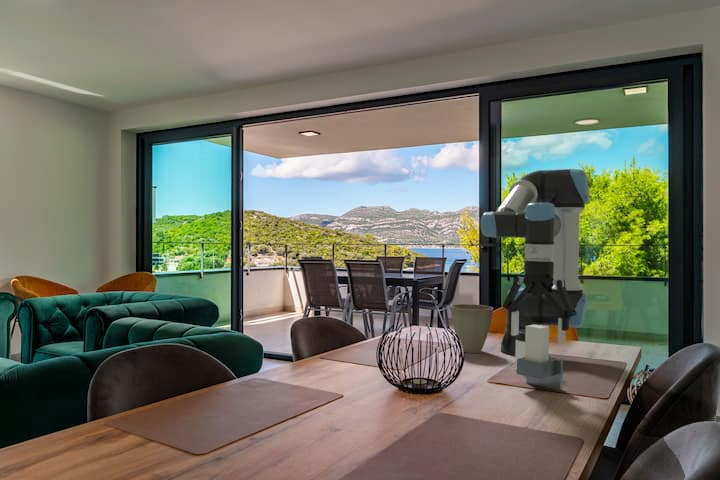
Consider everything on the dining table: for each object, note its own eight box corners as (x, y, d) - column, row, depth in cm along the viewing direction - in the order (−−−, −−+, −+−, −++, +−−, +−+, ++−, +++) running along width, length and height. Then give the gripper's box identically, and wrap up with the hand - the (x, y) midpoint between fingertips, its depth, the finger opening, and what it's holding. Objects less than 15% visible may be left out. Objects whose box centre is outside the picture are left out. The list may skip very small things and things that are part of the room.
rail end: (532, 367, 151) (533, 324, 151) (548, 370, 148) (549, 326, 148) (524, 370, 148) (525, 326, 148) (540, 373, 145) (541, 328, 145)
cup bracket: (528, 382, 155) (529, 353, 155) (562, 389, 148) (563, 360, 148) (512, 387, 149) (512, 358, 149) (546, 395, 142) (547, 365, 142)
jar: (549, 371, 168) (550, 332, 168) (534, 375, 163) (534, 335, 163) (524, 365, 175) (524, 328, 175) (508, 369, 170) (509, 330, 170)
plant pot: (447, 353, 191) (448, 307, 191) (452, 345, 205) (453, 303, 205) (491, 357, 187) (492, 310, 187) (493, 348, 201) (494, 305, 201)
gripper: (491, 258, 154) (489, 333, 154) (578, 263, 136) (576, 348, 136) (505, 257, 159) (503, 330, 160) (591, 262, 141) (589, 344, 142)
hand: (537, 338), depth 148 cm, fingers open, 13 cm apart
